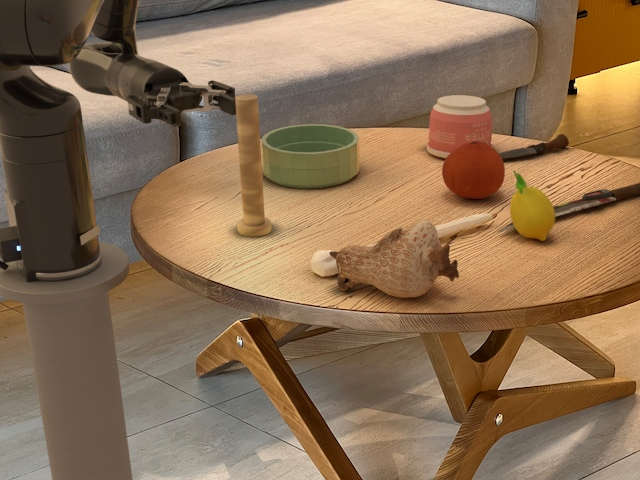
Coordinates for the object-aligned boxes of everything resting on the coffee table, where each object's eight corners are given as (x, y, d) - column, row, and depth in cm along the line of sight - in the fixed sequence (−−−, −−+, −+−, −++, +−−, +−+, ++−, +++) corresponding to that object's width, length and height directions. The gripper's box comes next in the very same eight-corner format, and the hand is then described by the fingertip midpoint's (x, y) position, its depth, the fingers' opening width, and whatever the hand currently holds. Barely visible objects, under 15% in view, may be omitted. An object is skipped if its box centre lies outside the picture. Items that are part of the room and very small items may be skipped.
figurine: (456, 317, 125) (341, 306, 132) (475, 243, 129) (362, 236, 135) (430, 282, 118) (310, 272, 124) (451, 204, 121) (332, 199, 128)
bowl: (286, 196, 156) (284, 159, 154) (249, 167, 167) (246, 132, 165) (375, 179, 162) (375, 144, 160) (333, 152, 174) (333, 119, 171)
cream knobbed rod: (476, 215, 148) (475, 195, 147) (496, 222, 145) (496, 202, 144) (304, 271, 133) (302, 249, 132) (323, 280, 130) (321, 258, 129)
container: (418, 104, 168) (417, 155, 171) (484, 111, 164) (482, 162, 168) (440, 90, 177) (438, 139, 180) (502, 96, 174) (500, 145, 177)
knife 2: (497, 239, 142) (660, 192, 157) (496, 226, 141) (660, 179, 156) (483, 234, 144) (645, 188, 159) (483, 221, 143) (645, 175, 158)
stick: (245, 239, 142) (236, 103, 134) (233, 227, 145) (223, 95, 137) (276, 232, 144) (269, 98, 136) (263, 222, 147) (256, 90, 139)
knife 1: (563, 132, 176) (578, 138, 172) (563, 145, 177) (578, 151, 173) (468, 146, 171) (481, 153, 167) (469, 159, 172) (481, 167, 168)
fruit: (450, 183, 161) (451, 130, 157) (509, 189, 158) (511, 135, 155) (433, 203, 153) (434, 148, 150) (495, 210, 151) (498, 154, 147)
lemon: (547, 235, 136) (516, 162, 137) (512, 252, 140) (483, 181, 141) (575, 228, 141) (545, 157, 142) (541, 245, 145) (512, 176, 146)
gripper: (103, 69, 152) (156, 94, 141) (194, 54, 160) (251, 77, 149) (110, 121, 156) (161, 150, 144) (199, 104, 164) (255, 130, 152)
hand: (207, 113), depth 146 cm, fingers open, 8 cm apart
